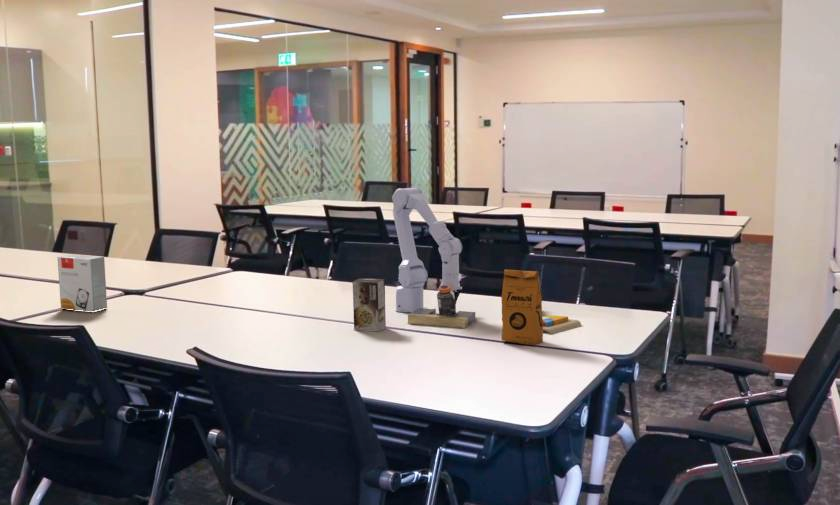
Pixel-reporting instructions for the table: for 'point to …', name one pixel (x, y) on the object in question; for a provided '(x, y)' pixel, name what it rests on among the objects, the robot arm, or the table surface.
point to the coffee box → (369, 304)
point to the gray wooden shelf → (441, 318)
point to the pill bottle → (446, 301)
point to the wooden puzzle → (558, 323)
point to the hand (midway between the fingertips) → (450, 312)
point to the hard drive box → (82, 282)
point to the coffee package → (522, 308)
